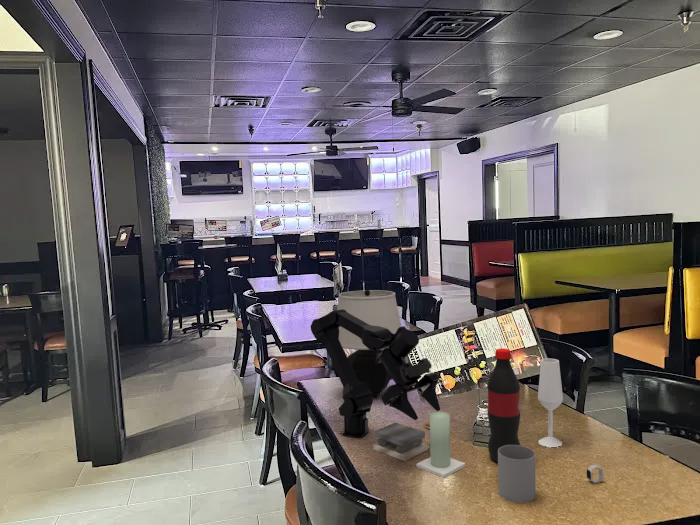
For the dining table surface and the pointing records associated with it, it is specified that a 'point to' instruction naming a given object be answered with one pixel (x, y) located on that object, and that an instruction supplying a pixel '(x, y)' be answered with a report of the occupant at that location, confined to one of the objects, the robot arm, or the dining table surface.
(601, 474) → the smartwatch
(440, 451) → the roller
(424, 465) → the pad
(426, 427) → the shard
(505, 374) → the cola bottle
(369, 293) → the table lamp
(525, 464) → the cup
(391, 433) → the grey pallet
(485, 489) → the dining table surface
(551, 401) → the champagne flute
